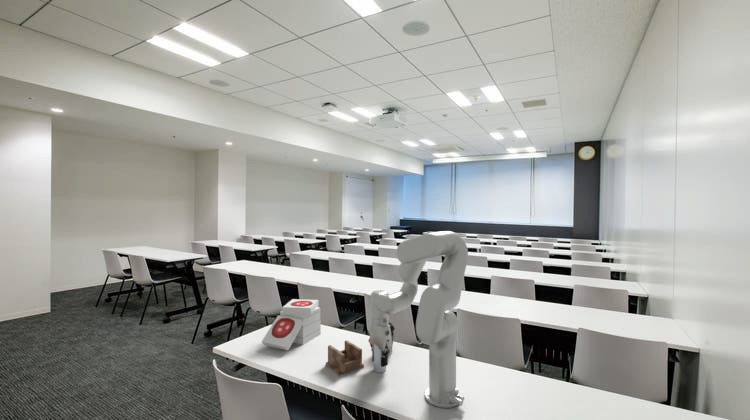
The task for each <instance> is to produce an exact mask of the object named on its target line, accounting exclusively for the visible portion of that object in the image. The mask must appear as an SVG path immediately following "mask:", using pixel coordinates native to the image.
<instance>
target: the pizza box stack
mask: <svg viewBox="0 0 750 420" xmlns="http://www.w3.org/2000/svg"><path fill="white" fill-rule="evenodd" d="M279 314H280V315H277V316H276V317H275V319H274V321H273V323H272V324H271V325H270V327H269V329H268V330H267V332H266V334H265V335H264V337H263V338H262V340H261V343H262V344H263V345H264V346H268V347H272V348H275V349H280V350H285V351H289V350H290V348H291V346H293V344H298V345H305V344H307V343H308V342H311V341H312V340H314V339H315V337H316V338H317V337H319V336H321V329H322V328H321V325H322V324H321V322H322V321H321V307H320V306H319V299H304V298H303V299H302V298H300V299H299V298H298V299H297V298H292V299H291V300H289V301H288V302H286V304H285V305H283V306H282V309H281V310H280V311H279ZM310 340H311V341H310Z"/></svg>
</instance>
